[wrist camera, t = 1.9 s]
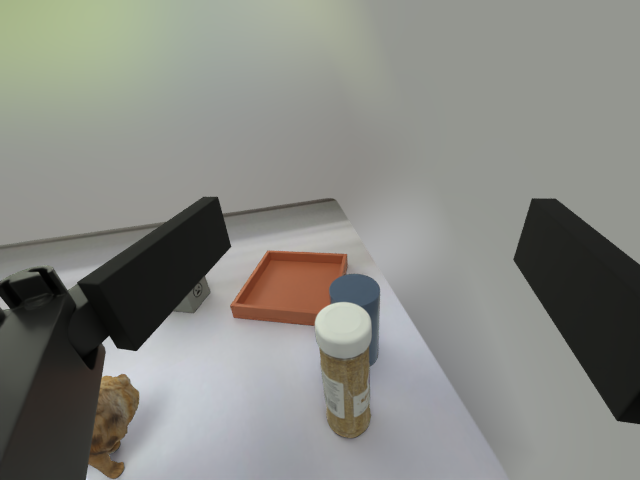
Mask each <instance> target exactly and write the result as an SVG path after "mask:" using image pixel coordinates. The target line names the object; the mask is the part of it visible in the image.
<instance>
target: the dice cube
mask: <svg viewBox="0 0 640 480" xmlns="http://www.w3.org/2000/svg"><path fill="white" fill-rule="evenodd" d="M209 293H210V289H209V287H208V284H207V281H206V278H205V276H204V277H203V278H202V279H201V280H200V282H199V283H198V284H197V285H196V286H195V287H194V288H193V289H192V290H191V292H190V293H189V294H188V295H187V296H186V297H185V298H184V299H183V300H182V301H181V303H180V304H179V305H178V306H177V307H176V308H175V309H174V310H173V311H177V312H188V313H194V312H195V311H196V310H197V308H198V307H199V306H200V305H201V303H202V302H203V301H204V300H205V298H206V297H207V296H208V295H209Z"/></svg>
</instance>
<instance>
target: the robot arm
mask: <svg viewBox="0 0 640 480" xmlns="http://www.w3.org/2000/svg"><path fill="white" fill-rule="evenodd" d="M230 247H231V244H230V240H229V237H228V233H227V229H226V225H225V222H224V218H223V214H222V211H221V207H220V203H219V199H218V197H203V198H201V199H200V200H198V201H197V202H195V203H194V204H192V205H191V206H189V207H188V208H186V209H185V210H183V211H182V212H181V213H179V214H177V215H176V216H174V217H173V218H172V219H170V220H169V221H167V222H166V223H164V224H163V225H161V226H160V227H158V228H157V229H155V230H154V231H152V232H151V233H149V234H148V235H146V236H145V237H143V238H142V239H140V240H139V241H138V242H136V243H135V244H133V245H132V246H130V247H129V248H127V249H126V250H124V251H123V252H121V253H120V254H118V255H117V256H115V257H114V258H112V259H111V260H109V261H108V262H106V263H105V264H104V265H102V266H101V267H99V268H98V269H96V270H95V271H93V272H92V273H90V274H89V275H87V276H86V277H84V278H83V279H81V280H80V281H78V282H77V285H75V286H74V287H72V288H71V289H69V290H67V289H66V287H65V286H64V284H63V283H62V281H61V280H60V278H59V276H58V275H57V273H56V272H55V270H54V269H53V267H50V266H37V267H32V268H29V269H26V270H23V271H20V272H17V273H15V274H13V275H10V276H8V277H7V278H5V279H3V280H1V281H0V297H1V298H2V299H3V300H4V302H5V303H6V304H7V305H8V307H9V308H10V309H6V310H2V309H1V308H0V480H86V474H87V468H88V462H89V455H90V449H91V442H92V436H93V430H94V423H95V417H96V410H97V404H98V398H99V391H100V385H101V378H102V372H103V366H104V359H105V353H106V352H105V347H104V346H103V344H102V342H103V341H104V340H105V339H106V338H107V337H108V336H110V337H111V339H112V340H113V342H114V344H115V345H116V347H117V348H119V349H126V350H132V351H137V350H138V349H139V348H140V347H141V346H142V345H143V343H144V342H145V341H146V340H147V339H148V338H149V337H150V336H151V335H152V333H153V332H154V331H155V330H156V329H157V328H158V327H159V326H160V325H161V324H162V322H163V321H164V320H165V319H166V318H167V317H168V316H169V315H170V314H171V312H172V311H173V310H174V309H175V308H176V307H177V306H178V305H179V304H180V303H181V301H182V300H183V299H184V298H185V297H186V296H187V295H188V294H189V293H190V292H191V290H192V289H193V288H194V287H195V286H196V285H197V284H198V283H199V282H200V280H201V279H202V278H203V277H204V276H205V275H206V274H207V273H208V272H209V271H210V269H211V268H212V267H213V266H214V265H215V264H216V263H217V262H218V261H219V259H220V258H221V257H222V256H223V255H224V254H225V253H226V252H227V251H228V250H229V248H230ZM514 261H515V263H516V265H517V266H518V268H519V269H520V271H521V272H522V274H523V275H524V277H525V279H526V280H527V282H528V283H529V285H530V286H531V288H532V289H533V291H534V293H535V294H536V296H537V297H538V299H539V300H540V302H541V303H542V305H543V307H544V308H545V310H546V311H547V313H548V314H549V316H550V317H551V319H552V321H553V322H554V324H555V325H556V327H557V328H558V330H559V331H560V333H561V334H562V336H563V338H564V339H565V341H566V342H567V344H568V345H569V347H570V348H571V350H572V352H573V353H574V355H575V356H576V358H577V359H578V361H579V363H580V364H581V366H582V367H583V369H584V370H585V372H586V373H587V375H588V377H589V378H590V380H591V381H592V383H593V384H594V386H595V387H596V389H597V391H598V392H599V394H600V395H601V397H602V398H603V400H604V401H605V403H606V405H607V406H608V408H609V409H610V411H611V412H612V414H613V415H614V417H615V419H616V420H617V421H621V422H628V423H635V424H640V265H639V264H638V263H637V262H636V261H634V260H633V259H632V258H630V257H629V256H628V255H627V254H625V253H624V252H623V251H621V250H620V249H619V248H617V247H616V246H615V245H614V244H613V243H611V242H610V241H609V240H608V239H606V238H605V237H604V236H602V235H601V234H600V233H599V232H597V231H596V230H595V229H594V228H592V227H591V226H590V225H588V224H587V223H586V222H585V221H583V220H582V219H581V218H579V217H578V216H577V215H576V214H574V213H573V212H572V211H571V210H569V209H568V208H567V207H565V206H564V205H563V204H562V203H560V202H559V201H558V200H557V199H532V200H531V204H530V207H529V210H528V213H527V217H526V220H525V223H524V227H523V230H522V233H521V237H520V240H519V243H518V247H517V250H516V253H515V256H514Z"/></svg>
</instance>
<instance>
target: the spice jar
mask: <svg viewBox="0 0 640 480" xmlns="http://www.w3.org/2000/svg"><path fill="white" fill-rule="evenodd" d="M315 334H316V341H317V344H318V346H319V349H320V357H321V371H322V379H323V387H324V395H325V401H326V405H327V411H326V415H327V421H328V423H329V425H330V427H331V429H332V430H333V431H334V432H335V433H336V434H338V435H340V436H343V437H347V438H353V437H357V436H359V435H360V434H361V433H363V432H364V431H365V430H366V429H367V427H368V425H369V423H370V418H371V414H370V408H369V401H370V364H369V345H370V342H371V337H372V326H371V319H370V316H369V314H368V313H367V312H366V311H365V310H364V309H363V308H362V307H360V306H358V305H356V304H353V303H348V302H338V303H334V304H331V305H328V306H326V307H325V308H323V309H322V310H321V311H320V312H319V313H318V315H317V317H316V320H315Z"/></svg>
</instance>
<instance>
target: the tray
mask: <svg viewBox="0 0 640 480" xmlns="http://www.w3.org/2000/svg"><path fill="white" fill-rule="evenodd" d="M347 265H348V264H347V254H333V253H311V252H288V251H267V252H266V254H265V255H264V257H263V258H262V259H261V261H260V262H259V264H258V265H257V267H256V268H255V270H254V271H253V273H252V274H251V276H250V277H249V279H248V280H247V282H246V283H245V285H244V286H243V288H242V289H241V290H240V292H239V293H238V295H237V296H236V298H235V299H234V301H233V302H232V304H231V305H230V307H231V310H232V313H233V317H234V318H242V319H252V320H262V321H272V322H282V323H292V324H302V325H312V326H315V320H316V317H317V315H318V313H319V312H320V311H321V310H322V309H323V308H325V307H326V306H328V305H330V297H329V287H330V285H331V283H332V282H333V281H334V280H335V279H337V278H339V277H341V276H344V275H345V274H346V270H347Z"/></svg>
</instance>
